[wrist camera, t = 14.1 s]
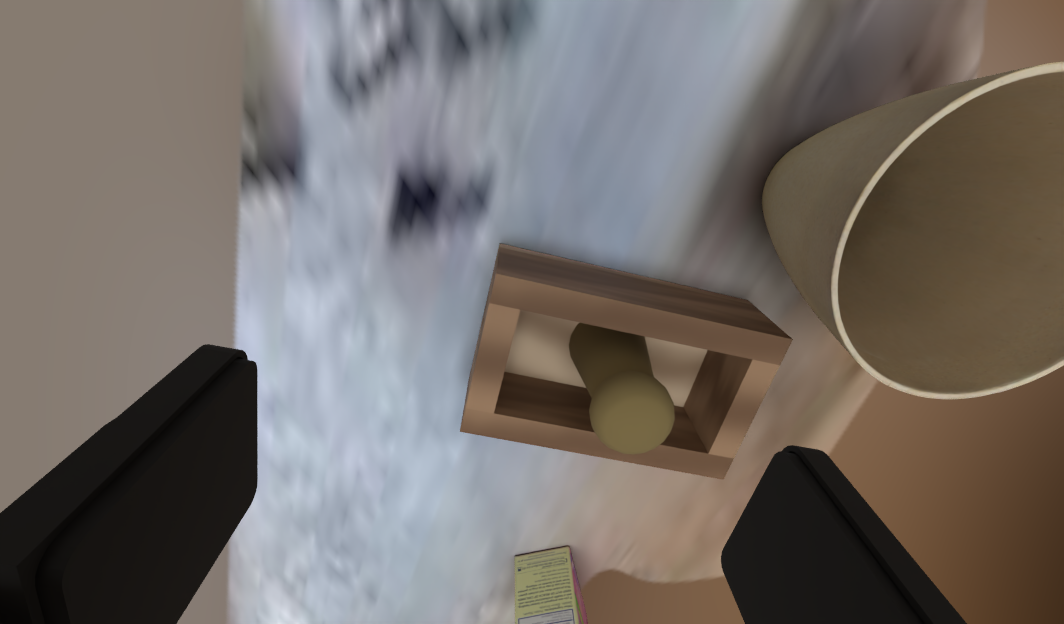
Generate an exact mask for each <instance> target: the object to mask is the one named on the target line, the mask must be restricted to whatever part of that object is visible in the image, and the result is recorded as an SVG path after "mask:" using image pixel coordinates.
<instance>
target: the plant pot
mask: <svg viewBox="0 0 1064 624" xmlns="http://www.w3.org/2000/svg"><path fill="white" fill-rule="evenodd" d="M762 208H763V214H764V218H765V222H766V226H767V229H768V232H769V235H770V238H771V240H772V243H773V245H774V248H775V250H776V252H777V254H778V256H779V258H780V260H781V262H782V264H783V266H784V268H785V269H786V271H787V273H788V275H789V276H790V278H791V280H792V281H793V283H794V284H795V286H796V288H797V289H798V291H799V292H800V293H801V295H802V296H803V298H804V299H805V301H806V302H807V303H808V305H809V306H810V307H811V309H812V310H813V311H814V313H815V314H816V315H817V316H818V318H819V319H820V320H821V321H822V322H823V323H824V325H825V326H826V327H827V328H828V329H829V331H830V332H831V333H832V334H833V335H834V336H835V338H836V339H837V340H838V341H839V342H840V343H841V345H842V346H843V347H844V348H845V349H846V350H847V351H848V352H849V354H850V355H851V356H852V357H853V358H854V359H855V360H856V361H857V363H858V364H859V365H860V366H861V367H862V368H863V369H864V370H865V371H867V372H868V373H869V374H870V375H872V376H873V377H874V378H876V379H877V380H879V381H880V382H882V383H884V384H886V385H887V386H890V387H892V388H894V389H897V390H899V391H902V392H905V393H908V394H912V395H916V396H922V397H927V398H938V399H962V398H972V397H979V396H984V395H989V394H993V393H998V392H1002V391H1005V390H1008V389H1012V388H1015V387H1017V386H1021V385H1024V384H1026V383H1029V382H1031V381H1033V380H1036V379H1038V378H1040V377H1042V376H1044V375H1047V374H1048V373H1050V372H1052V371H1054V370H1056V369H1058V368H1059V367H1061V366H1063V365H1064V62H1055V63H1049V64H1043V65H1038V66H1033V67H1028V68H1023V69H1018V70H1014V71H1009V72H1004V73H1000V74H996V75H992V76H986V77H982V78H978V79H973V80H969V81H964V82H960V83H956V84H951V85H948V86H944V87H940V88H936V89H932V90H929V91H925V92H922V93H918V94H915V95H912V96H908V97H905V98H902V99H899V100H896V101H893V102H890V103H887V104H884V105H882V106H879V107H876V108H873V109H871V110H868V111H865V112H863V113H860V114H858V115H856V116H853V117H851V118H848V119H846V120H844V121H842V122H839V123H837V124H835V125H833V126H831V127H829V128H827V129H825V130H823V131H821V132H819V133H817V134H816V135H814V136H812V137H810V138H809V139H807V140H805V141H804V142H802V143H801V144H799V145H797V146H796V147H794V148H793V149H792V150H790V151H789V152H788V153H786V154H785V155H784V156H783V157H782V158H781V159H780V160H779V161H778V162H777V163H776V165H775V166H774V167H773V169H772V170H771V172H770V174H769V176H768V178H767V180H766V183H765V186H764V190H763V195H762Z"/></svg>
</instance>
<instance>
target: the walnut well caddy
mask: <svg viewBox="0 0 1064 624" xmlns="http://www.w3.org/2000/svg"><path fill="white" fill-rule="evenodd" d="M579 323H584V324H589V325H594V326H598V327H603V328H608V329H612V330H617V331H622V332H626V333H631V334H636V335H640V336H645V340H646V345H647V349H648V353H649V358H650V362H651V366H652V371H653V375H654V378H656V379H657V380H658V381H659V382H660V383H661V384H662V385H663V386H665V387H666V389H667V391H668V392H669V394H670V396H671V399H672V401H673V403H674V414H675V420H674V424H673V427H672V430H671V432H670V434H669V435H668V436H667V438H666V439H665V440H664V442H663V443H661V444H660V445H659V446H658V447H656V448H655V449H653V450H650V451H648V452H646V453H641V454H634V455H632V454H623V453H620V452H618V451H615V450H613V449H610V448H608V447H607V446H606V445H605V444H604V443H602V442H601V441H600V440H599V438H598V437H597V435H596V433H595V432H594V430H593V428H592V425H591V420H590V413H589V409H590V404H591V399H592V398H591V396H590V394H589V392H588V390H587V388H586V386H585V384H584V382H583V380H582V378H581V376H580V374H579V372H578V370H577V368H576V366H575V365H574V363H573V361H572V359H571V357H570V351H569V342H570V337H571V334H572V332H573V331H574V329H575V327H576V325H577V324H579ZM792 340H793V339H792V338H790V337H789V336H788V335H787V334H786V333H785V332H784V331H782V330H781V329H780V328H779V327H778V326H777V325H776V324H774V323H773V322H772V321H771V320H770V319H769V318H768V317H766V316H765V315H764V314H763V313H762V312H761V311H759V310H758V309H757V308H756V307H755V306H754V305H753V304H751V303H750V302H749V301H748V300H745V299H740V298H736V297H732V296H727V295H723V294H719V293H714V292H710V291H705V290H701V289H697V288H692V287H688V286H684V285H679V284H675V283H671V282H666V281H662V280H658V279H653V278H649V277H644V276H640V275H636V274H631V273H627V272H623V271H618V270H614V269H610V268H605V267H601V266H597V265H592V264H588V263H583V262H579V261H575V260H570V259H566V258H562V257H557V256H553V255H549V254H544V253H540V252H536V251H531V250H527V249H523V248H518V247H514V246H509V245H505V244H501V243H500V244H499V248H498V253H497V257H496V261H495V266H494V270H493V275H492V279H491V284H490V288H489V292H488V297H487V301H486V306H485V310H484V315H483V319H482V323H481V328H480V332H479V337H478V341H477V346H476V350H475V354H474V359H473V363H472V368H471V372H470V377H469V381H468V387H467V393H466V399H465V405H464V411H463V417H462V423H461V428H460V432H465V433H471V434H476V435H482V436H487V437H493V438H498V439H504V440H509V441H515V442H520V443H526V444H531V445H537V446H542V447H548V448H553V449H559V450H564V451H569V452H575V453H580V454H586V455H591V456H597V457H602V458H608V459H613V460H619V461H624V462H630V463H635V464H641V465H646V466H652V467H657V468H663V469H668V470H674V471H679V472H685V473H690V474H696V475H701V476H707V477H712V478H718V479H724V477H725V475H726V473H727V471H728V469H729V467H730V465H731V463H732V461H733V459H734V457H735V455H736V453H737V451H738V449H739V447H740V445H741V443H742V441H743V439H744V437H745V435H746V433H747V431H748V429H749V427H750V425H751V423H752V421H753V419H754V417H755V415H756V413H757V411H758V409H759V407H760V405H761V403H762V401H763V399H764V396H765V394H766V392H767V390H768V388H769V386H770V384H771V382H772V380H773V378H774V376H775V374H776V372H777V370H778V368H779V366H780V364H781V362H782V360H783V358H784V356H785V354H786V352H787V350H788V348H789V346H790V344H791V342H792Z"/></svg>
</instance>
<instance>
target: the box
mask: <svg viewBox="0 0 1064 624" xmlns="http://www.w3.org/2000/svg"><path fill="white" fill-rule="evenodd" d="M515 624H588V622H587V615H586V610H585V606H584V602H583V598H582V595H581V591H580V587H579V582H578V578H577V574H576V571H575V567H574V563H573V559H572V555H571V551H570V547H569V546H566V547H561V548H556V549H550V550H545V551H539V552H534V553H529V554H525V555H519V556H515Z"/></svg>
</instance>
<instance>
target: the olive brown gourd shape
mask: <svg viewBox="0 0 1064 624" xmlns="http://www.w3.org/2000/svg"><path fill="white" fill-rule="evenodd" d="M569 351H570V357H571V359H572V361H573V363H574V365H575V366H576V368H577V370H578V372H579V374H580V376H581V378H582V380H583V382H584V384H585V386H586V388H587V390H588V392H589V394H590V396H591V398H592V399H591V404H590V409H589V413H590V420H591V425H592V428H593V430H594V432H595V433H596V435H597V437H598V438H599V440H600V441H601V442H602V443H604V444H605V445H606V446H607V447H608V448H610V449H613V450H615V451H618V452H620V453H623V454H632V455H634V454H641V453H646V452H648V451H650V450H653V449H655V448H656V447H658V446H659V445H660V444H661V443H663V442H664V440H665V439H666V438H667V436H668V435H669V434H670V432H671V430H672V427H673V424H674V420H675V414H674V403H673V401H672V399H671V396H670V394H669V392H668V391H667V389H666V387H665V386H663V385H662V384H661V383H660V382H659V381H658V380H657V379H656V378H654V375H653V371H652V366H651V362H650V358H649V353H648V349H647V345H646V340H645V336H640V335H636V334H631V333H626V332H622V331H617V330H612V329H608V328H603V327H598V326H594V325H589V324H584V323H579V324H577V325H576V327H575V329H574V331H573V332H572V334H571V337H570V342H569Z"/></svg>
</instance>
